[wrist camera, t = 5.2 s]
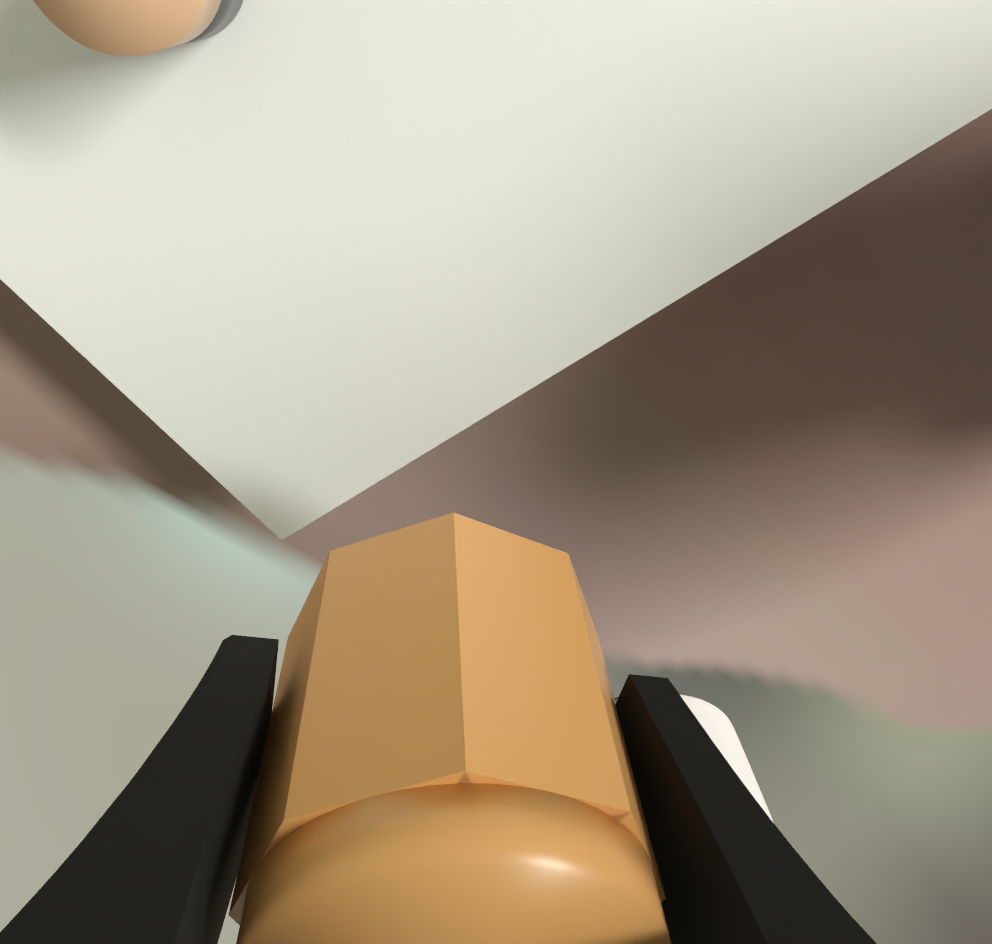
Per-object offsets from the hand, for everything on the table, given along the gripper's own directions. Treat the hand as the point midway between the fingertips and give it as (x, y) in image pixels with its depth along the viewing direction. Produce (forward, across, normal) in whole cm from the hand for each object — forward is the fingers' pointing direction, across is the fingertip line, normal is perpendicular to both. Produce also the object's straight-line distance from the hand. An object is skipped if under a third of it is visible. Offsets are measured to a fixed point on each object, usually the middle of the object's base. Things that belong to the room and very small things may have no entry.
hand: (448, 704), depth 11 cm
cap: (+1, 0, 0) cm, 1 cm away
